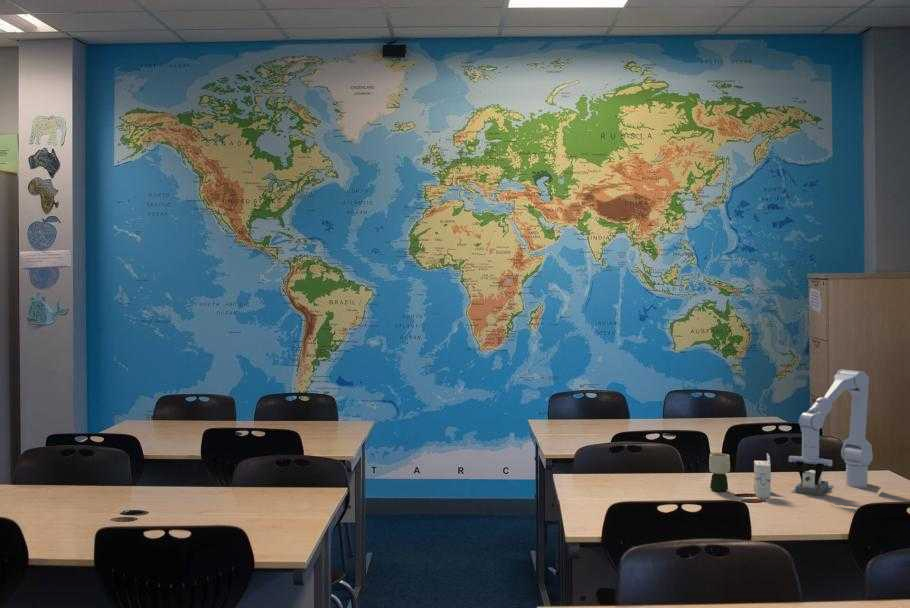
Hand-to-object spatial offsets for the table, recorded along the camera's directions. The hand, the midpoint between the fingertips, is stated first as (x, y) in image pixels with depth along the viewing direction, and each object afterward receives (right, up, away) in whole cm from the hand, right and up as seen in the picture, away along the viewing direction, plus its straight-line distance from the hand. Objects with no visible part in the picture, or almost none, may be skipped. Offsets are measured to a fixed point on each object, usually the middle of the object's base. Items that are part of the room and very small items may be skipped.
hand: (809, 483), depth 325 cm
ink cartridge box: (-18, -4, -1) cm, 18 cm away
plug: (-1, -2, -1) cm, 2 cm away
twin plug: (+5, -3, +7) cm, 9 cm away
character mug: (-31, -4, +6) cm, 32 cm away
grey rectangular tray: (+3, -4, +4) cm, 6 cm away
